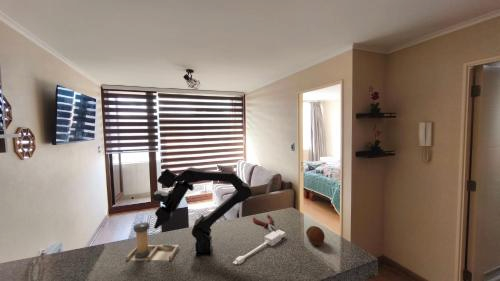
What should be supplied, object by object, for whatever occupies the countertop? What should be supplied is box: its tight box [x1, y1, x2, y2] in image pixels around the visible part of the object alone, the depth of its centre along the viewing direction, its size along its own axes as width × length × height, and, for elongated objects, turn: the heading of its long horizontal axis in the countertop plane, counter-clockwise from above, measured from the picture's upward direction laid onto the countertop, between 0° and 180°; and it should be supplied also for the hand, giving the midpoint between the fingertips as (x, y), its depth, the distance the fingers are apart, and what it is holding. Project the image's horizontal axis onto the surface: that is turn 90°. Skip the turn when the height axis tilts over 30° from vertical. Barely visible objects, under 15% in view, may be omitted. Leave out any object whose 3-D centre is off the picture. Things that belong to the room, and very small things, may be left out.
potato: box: [305, 225, 326, 247], centre depth 105 cm, size 8×12×8 cm, turn 16°
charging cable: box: [232, 229, 286, 265], centre depth 100 cm, size 5×32×3 cm, turn 135°
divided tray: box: [125, 243, 180, 261], centre depth 96 cm, size 19×9×3 cm, turn 89°
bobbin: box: [133, 222, 150, 259], centre depth 95 cm, size 6×6×13 cm
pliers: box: [252, 214, 277, 233], centre depth 124 cm, size 12×20×3 cm, turn 20°
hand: (158, 223), depth 96 cm, fingers open, 9 cm apart
